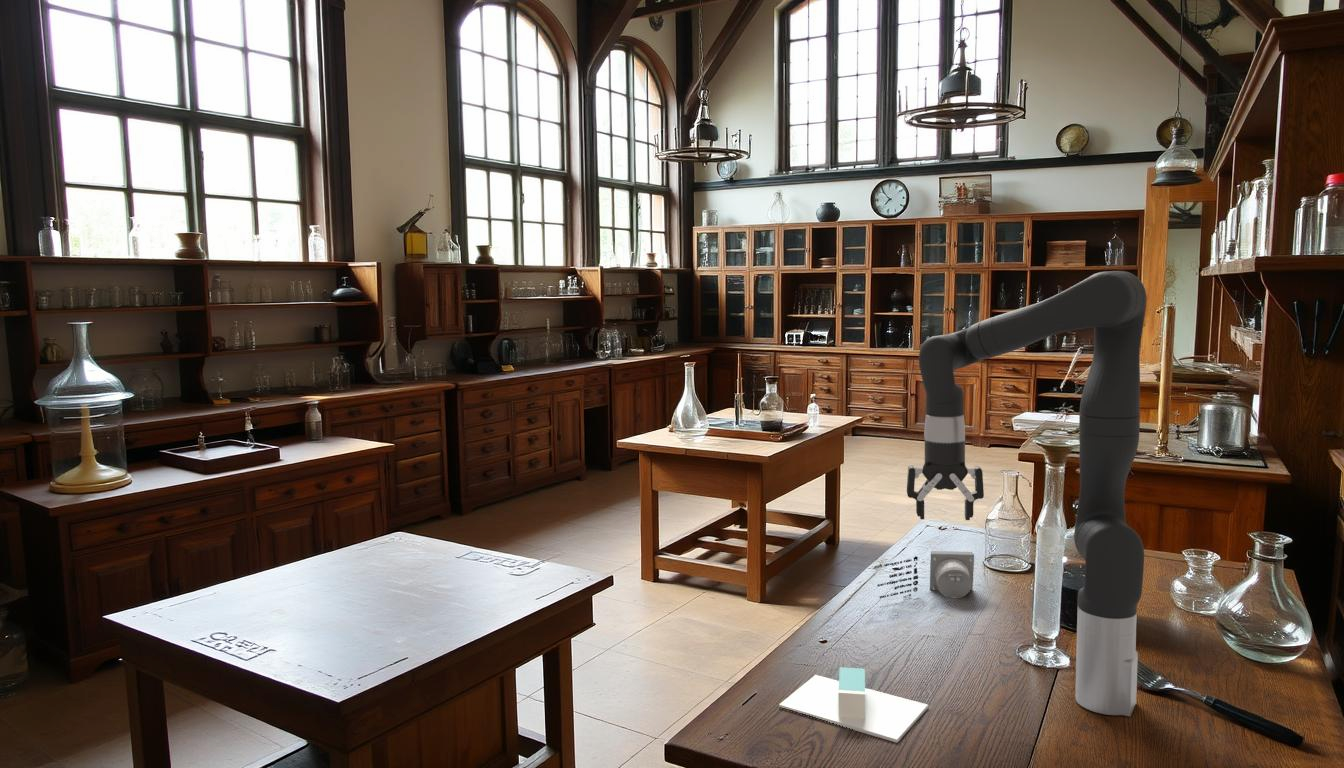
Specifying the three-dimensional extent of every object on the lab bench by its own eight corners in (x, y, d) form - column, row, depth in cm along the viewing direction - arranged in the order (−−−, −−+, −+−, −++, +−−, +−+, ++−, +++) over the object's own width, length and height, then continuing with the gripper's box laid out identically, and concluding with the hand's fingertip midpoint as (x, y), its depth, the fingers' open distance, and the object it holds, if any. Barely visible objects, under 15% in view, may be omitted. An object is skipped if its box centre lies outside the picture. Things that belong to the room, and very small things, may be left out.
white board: (928, 707, 155) (928, 704, 155) (897, 742, 144) (897, 739, 144) (815, 677, 168) (815, 674, 168) (779, 707, 157) (779, 704, 157)
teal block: (864, 668, 160) (865, 694, 150) (864, 692, 161) (865, 719, 151) (839, 667, 161) (838, 692, 151) (839, 690, 162) (838, 717, 152)
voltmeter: (954, 582, 217) (954, 543, 216) (989, 596, 207) (989, 555, 206) (866, 601, 206) (866, 560, 205) (898, 618, 196) (898, 575, 195)
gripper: (908, 441, 169) (908, 523, 171) (986, 441, 166) (985, 525, 168) (905, 434, 176) (905, 513, 178) (980, 434, 173) (979, 514, 175)
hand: (944, 518), depth 173 cm, fingers open, 8 cm apart
